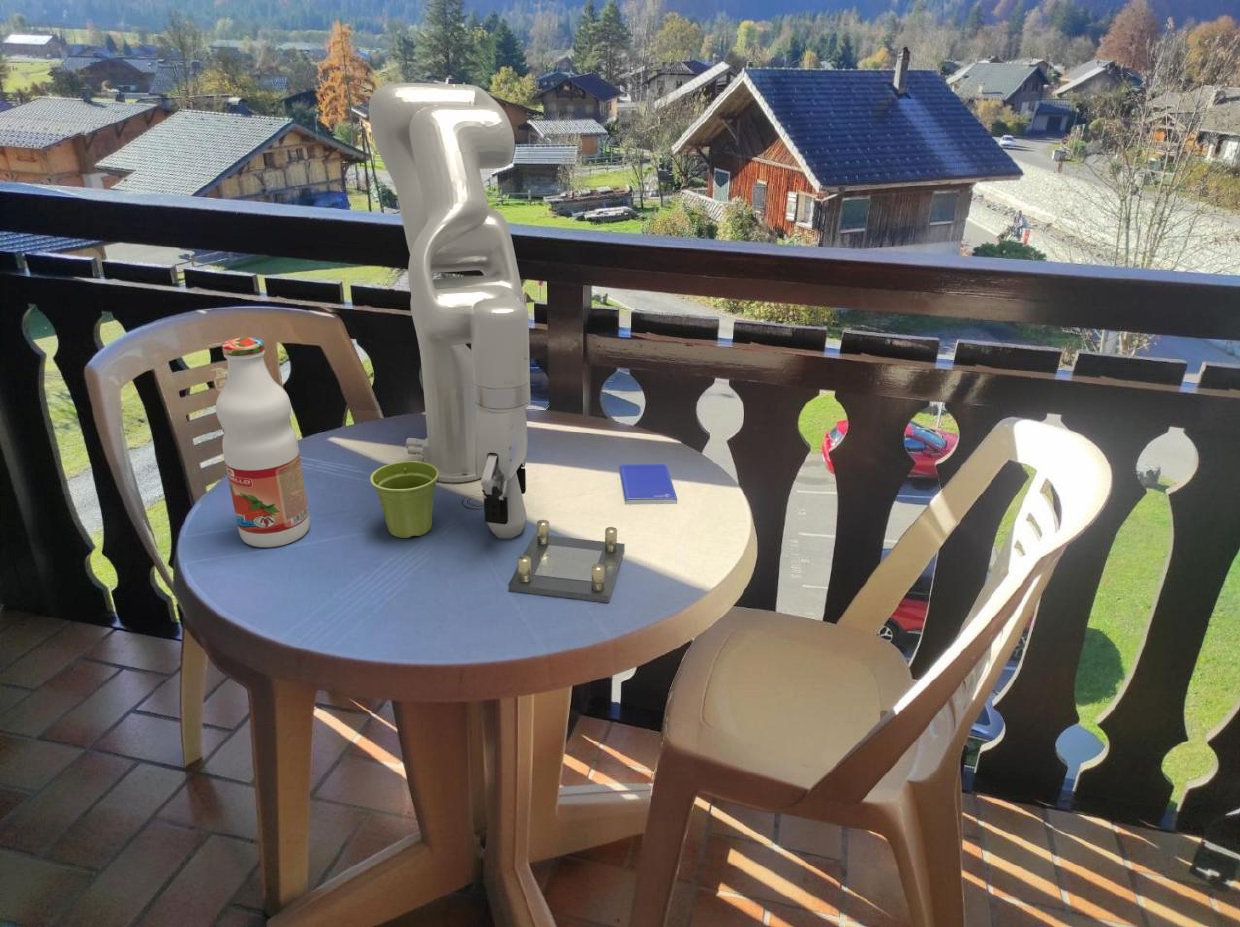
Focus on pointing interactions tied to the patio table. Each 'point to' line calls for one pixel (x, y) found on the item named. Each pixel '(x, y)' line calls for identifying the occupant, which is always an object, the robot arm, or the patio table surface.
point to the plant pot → (406, 496)
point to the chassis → (568, 566)
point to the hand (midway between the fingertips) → (506, 506)
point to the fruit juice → (260, 450)
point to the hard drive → (647, 484)
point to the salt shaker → (511, 510)
